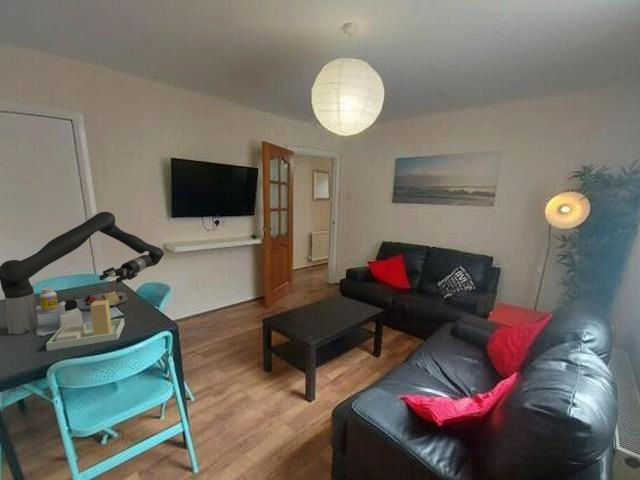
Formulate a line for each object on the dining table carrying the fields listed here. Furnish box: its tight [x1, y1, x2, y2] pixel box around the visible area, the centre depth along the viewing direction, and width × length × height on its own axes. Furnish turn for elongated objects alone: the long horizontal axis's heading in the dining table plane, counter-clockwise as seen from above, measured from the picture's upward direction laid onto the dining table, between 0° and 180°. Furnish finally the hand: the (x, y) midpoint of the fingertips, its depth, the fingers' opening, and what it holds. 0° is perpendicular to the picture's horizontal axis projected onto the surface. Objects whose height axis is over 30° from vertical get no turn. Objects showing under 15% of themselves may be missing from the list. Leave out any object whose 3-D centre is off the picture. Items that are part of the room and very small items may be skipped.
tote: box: [45, 317, 126, 352], centre depth 129 cm, size 24×16×4 cm, turn 115°
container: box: [56, 299, 84, 328], centre depth 138 cm, size 8×8×13 cm
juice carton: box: [89, 300, 112, 336], centre depth 130 cm, size 6×6×15 cm
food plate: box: [77, 290, 129, 310], centre depth 169 cm, size 25×23×4 cm
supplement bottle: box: [39, 286, 59, 314], centre depth 155 cm, size 7×7×13 cm
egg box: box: [56, 322, 86, 342], centre depth 127 cm, size 7×12×4 cm, turn 25°
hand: (108, 279), depth 135 cm, fingers open, 8 cm apart
